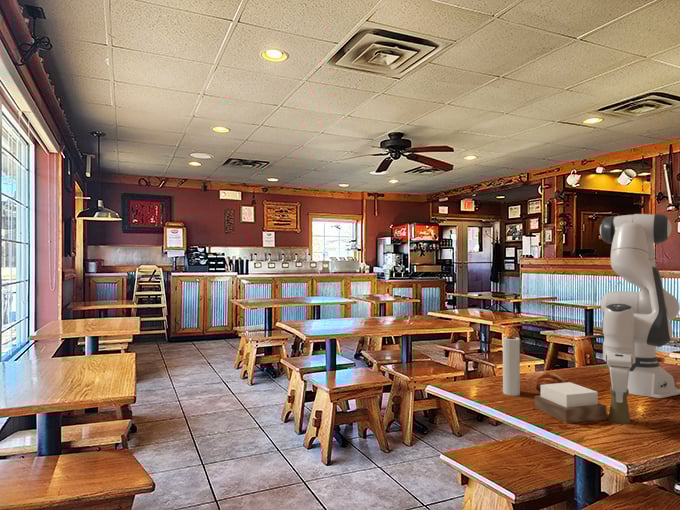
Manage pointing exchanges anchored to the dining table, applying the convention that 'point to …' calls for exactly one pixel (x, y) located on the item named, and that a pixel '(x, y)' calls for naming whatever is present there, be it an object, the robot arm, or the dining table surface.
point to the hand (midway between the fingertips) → (619, 399)
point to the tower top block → (569, 394)
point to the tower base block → (571, 411)
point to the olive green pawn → (619, 409)
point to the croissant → (547, 380)
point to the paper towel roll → (511, 366)
